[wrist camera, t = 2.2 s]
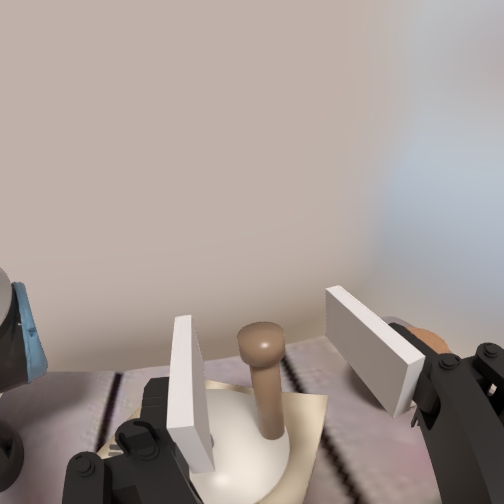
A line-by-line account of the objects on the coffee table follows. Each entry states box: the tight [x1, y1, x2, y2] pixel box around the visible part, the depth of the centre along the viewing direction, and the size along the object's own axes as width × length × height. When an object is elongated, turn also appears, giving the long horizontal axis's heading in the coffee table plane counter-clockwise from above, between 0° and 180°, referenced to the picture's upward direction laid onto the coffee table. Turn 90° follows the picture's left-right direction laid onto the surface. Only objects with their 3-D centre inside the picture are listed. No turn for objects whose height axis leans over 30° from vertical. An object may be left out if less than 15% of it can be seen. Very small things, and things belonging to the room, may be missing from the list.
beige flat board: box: [97, 373, 328, 504], centre depth 25 cm, size 24×25×2 cm
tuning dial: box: [109, 322, 290, 504], centre depth 23 cm, size 21×19×15 cm
